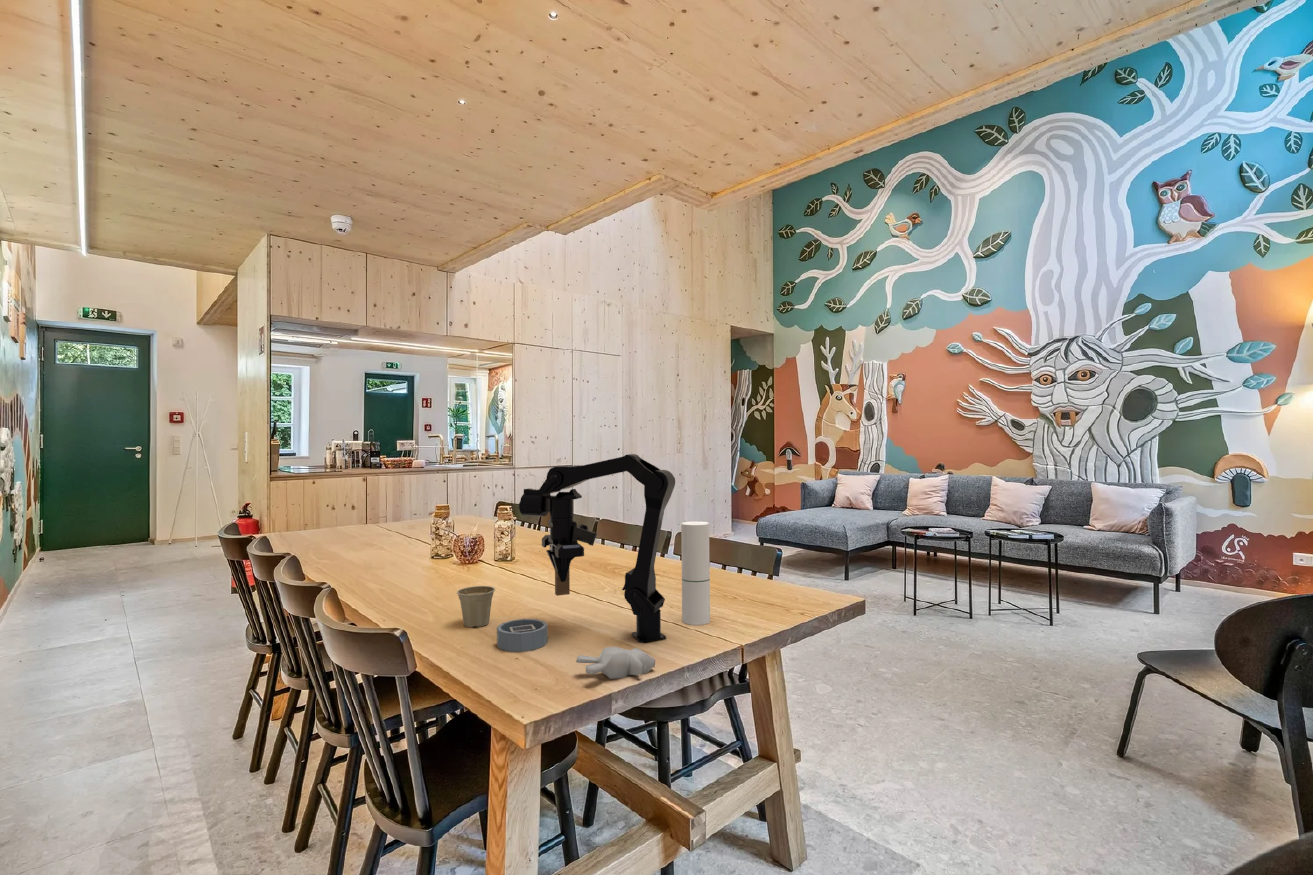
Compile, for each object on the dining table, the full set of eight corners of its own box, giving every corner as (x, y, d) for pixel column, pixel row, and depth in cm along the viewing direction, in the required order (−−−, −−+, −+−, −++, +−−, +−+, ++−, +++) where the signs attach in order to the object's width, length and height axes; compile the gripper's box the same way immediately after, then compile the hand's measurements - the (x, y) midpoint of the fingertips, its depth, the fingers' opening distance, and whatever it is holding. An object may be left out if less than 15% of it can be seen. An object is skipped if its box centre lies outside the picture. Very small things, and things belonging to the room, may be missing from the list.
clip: (535, 639, 139) (535, 628, 139) (512, 643, 137) (511, 631, 137) (532, 635, 142) (532, 624, 142) (509, 638, 140) (509, 627, 140)
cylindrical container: (710, 617, 159) (709, 521, 159) (709, 625, 152) (709, 525, 152) (682, 616, 160) (682, 521, 160) (681, 624, 153) (680, 525, 153)
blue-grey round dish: (551, 647, 137) (551, 629, 137) (501, 654, 132) (501, 636, 132) (541, 633, 147) (541, 616, 147) (494, 639, 142) (494, 622, 142)
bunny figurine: (662, 655, 120) (591, 659, 113) (660, 682, 119) (588, 687, 113) (642, 641, 128) (574, 644, 122) (640, 666, 128) (572, 670, 121)
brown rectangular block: (569, 594, 149) (569, 557, 149) (556, 595, 148) (556, 558, 148) (567, 592, 151) (567, 556, 151) (555, 593, 150) (554, 557, 150)
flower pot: (449, 628, 151) (449, 593, 151) (469, 617, 160) (469, 584, 161) (483, 630, 149) (483, 595, 149) (501, 619, 158) (501, 586, 158)
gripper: (604, 519, 144) (605, 585, 144) (582, 511, 161) (583, 570, 161) (558, 522, 140) (558, 590, 140) (541, 513, 157) (541, 574, 157)
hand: (562, 580), depth 149 cm, fingers closed on brown rectangular block, 2 cm apart
